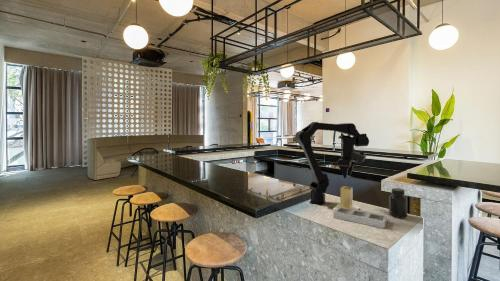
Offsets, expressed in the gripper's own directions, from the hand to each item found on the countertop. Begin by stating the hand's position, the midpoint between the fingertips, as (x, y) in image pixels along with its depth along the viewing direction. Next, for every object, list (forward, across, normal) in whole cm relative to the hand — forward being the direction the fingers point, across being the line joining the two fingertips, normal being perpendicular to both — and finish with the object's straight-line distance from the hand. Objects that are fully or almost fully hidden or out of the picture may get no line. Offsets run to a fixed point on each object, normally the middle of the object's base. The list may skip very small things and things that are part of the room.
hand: (347, 176), depth 129 cm
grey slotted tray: (+13, -23, -11) cm, 29 cm away
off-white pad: (+13, -14, -3) cm, 19 cm away
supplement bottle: (+13, -10, -24) cm, 29 cm away
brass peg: (+12, -14, -3) cm, 19 cm away
